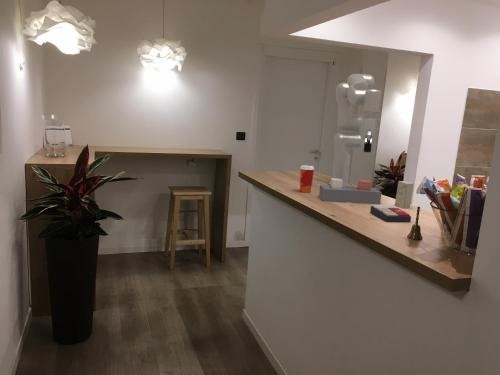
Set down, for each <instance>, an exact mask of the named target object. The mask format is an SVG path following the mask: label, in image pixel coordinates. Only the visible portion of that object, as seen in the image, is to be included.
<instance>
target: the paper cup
mask: <svg viewBox="0 0 500 375" xmlns="http://www.w3.org/2000/svg"><path fill="white" fill-rule="evenodd" d="M299 169H300V172H299V173H300V174H299V177H300V179H299V182H300V183H299V191H300V193H302V192H303V193H304V194H310V193H311V192H312V184H313V178H314V172H315V167H314V165H313V166H312V165H305V164H304V165H300V167H299ZM303 193H302V194H303Z"/></svg>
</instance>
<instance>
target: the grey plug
mask: <svg viewBox="0 0 500 375" xmlns="http://www.w3.org/2000/svg"><path fill="white" fill-rule="evenodd" d="M329 182H330V188H333V189H342V185H343V180H342V179H335V178H332V177H331V178H330V181H329Z"/></svg>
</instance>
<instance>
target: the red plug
mask: <svg viewBox="0 0 500 375" xmlns="http://www.w3.org/2000/svg"><path fill="white" fill-rule="evenodd" d="M357 187H358V189H359V190H368V191H370V188H372V181H371V180H367V179H358V182H357Z"/></svg>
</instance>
